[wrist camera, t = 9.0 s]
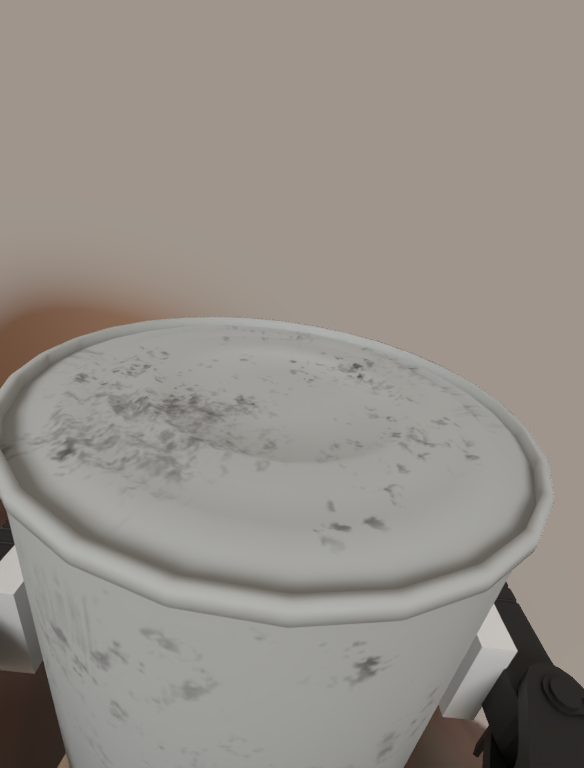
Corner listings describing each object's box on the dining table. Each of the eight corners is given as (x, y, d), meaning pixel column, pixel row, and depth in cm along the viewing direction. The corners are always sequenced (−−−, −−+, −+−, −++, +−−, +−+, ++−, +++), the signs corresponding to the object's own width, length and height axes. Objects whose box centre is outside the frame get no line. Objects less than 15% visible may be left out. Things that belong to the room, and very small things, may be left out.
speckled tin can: (143, 573, 16) (131, 301, 11) (351, 586, 17) (424, 338, 12) (-11, 975, 8) (-355, 574, 3) (424, 964, 8) (790, 641, 3)
